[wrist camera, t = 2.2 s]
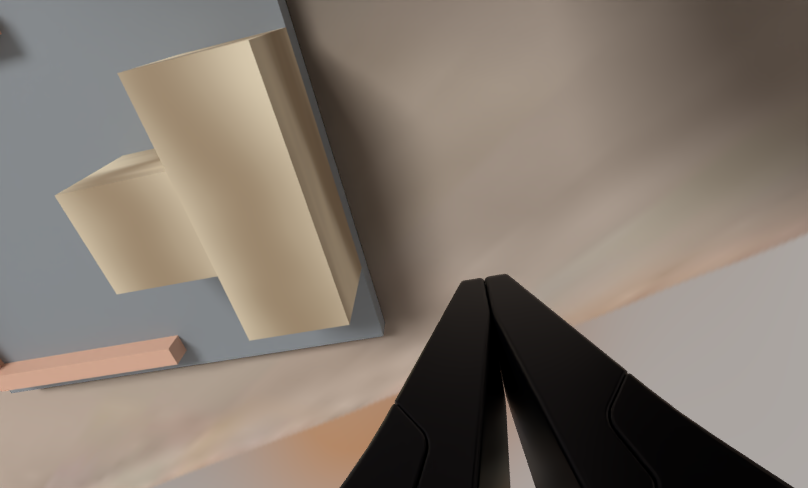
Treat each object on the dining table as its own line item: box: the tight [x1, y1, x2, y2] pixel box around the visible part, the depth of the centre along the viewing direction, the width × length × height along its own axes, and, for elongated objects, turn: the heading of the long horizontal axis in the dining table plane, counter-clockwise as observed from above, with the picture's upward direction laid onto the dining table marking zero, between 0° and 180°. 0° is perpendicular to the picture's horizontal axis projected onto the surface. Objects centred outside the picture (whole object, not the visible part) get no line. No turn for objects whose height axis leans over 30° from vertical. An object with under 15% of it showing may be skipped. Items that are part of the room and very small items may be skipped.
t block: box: [55, 27, 362, 341], centre depth 17 cm, size 8×10×4 cm
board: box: [0, 0, 385, 393], centre depth 20 cm, size 21×18×2 cm
